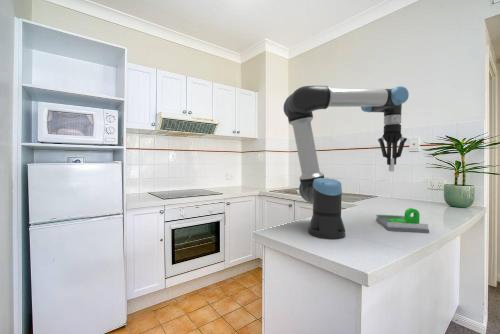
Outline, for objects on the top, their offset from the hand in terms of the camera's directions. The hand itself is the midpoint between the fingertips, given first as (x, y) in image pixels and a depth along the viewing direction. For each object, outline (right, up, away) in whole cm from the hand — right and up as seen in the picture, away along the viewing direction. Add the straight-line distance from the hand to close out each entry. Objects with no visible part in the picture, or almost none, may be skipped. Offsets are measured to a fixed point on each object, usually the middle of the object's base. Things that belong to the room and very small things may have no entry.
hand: (391, 171), depth 119 cm
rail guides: (0, -25, -6) cm, 26 cm away
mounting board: (0, -26, -6) cm, 27 cm away
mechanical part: (0, -25, -8) cm, 26 cm away
